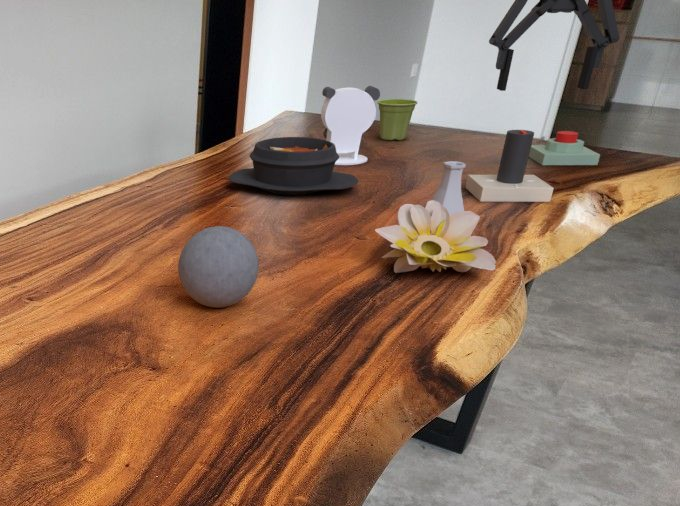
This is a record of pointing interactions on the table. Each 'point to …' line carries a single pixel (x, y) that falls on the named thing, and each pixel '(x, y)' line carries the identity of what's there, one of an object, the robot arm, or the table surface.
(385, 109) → the plant pot
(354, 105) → the panda figurine
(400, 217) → the decorative flower
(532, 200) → the dial panel
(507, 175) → the dial
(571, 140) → the push knob
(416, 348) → the table surface
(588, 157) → the button housing
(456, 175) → the flask
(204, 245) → the decorative ball
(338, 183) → the casserole
